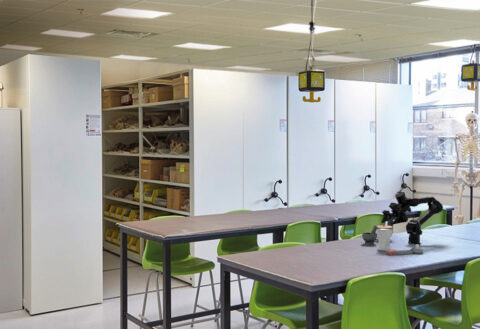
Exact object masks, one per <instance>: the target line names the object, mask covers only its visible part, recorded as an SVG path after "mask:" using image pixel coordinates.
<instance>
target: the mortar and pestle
mask: <svg viewBox="0 0 480 329" xmlns="http://www.w3.org/2000/svg"><path fill="white" fill-rule="evenodd" d="M377 226H378V225H373V227H372V229H371V231H369V232H362V233H361V237H362V240H363V241H364V245H368V244H369V245H370V246H371V245H375V241H376V240H377V239H378V238H377V233H375V232H376V230H377V228H378V227H377Z"/></svg>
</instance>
